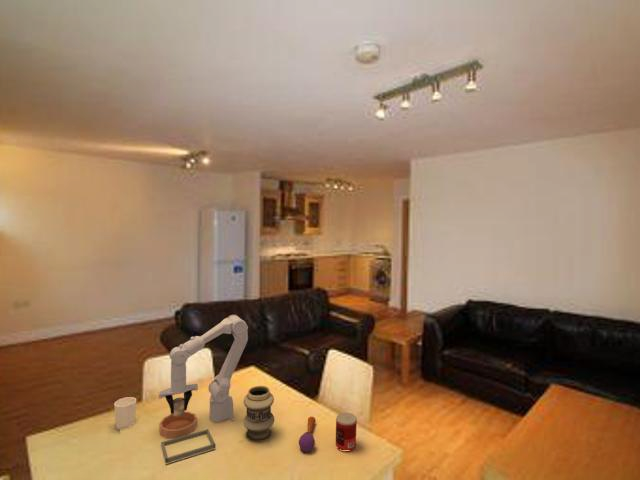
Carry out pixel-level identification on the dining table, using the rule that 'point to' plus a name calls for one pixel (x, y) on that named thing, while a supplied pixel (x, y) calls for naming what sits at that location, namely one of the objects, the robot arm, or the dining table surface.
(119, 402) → the white cup
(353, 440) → the canned food
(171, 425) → the orange shallow faceted dish
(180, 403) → the taupe rounded cylinder
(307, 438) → the purple maraca
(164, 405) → the dining table surface
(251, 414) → the apothecary jar
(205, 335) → the robot arm
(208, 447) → the charcoal tray
